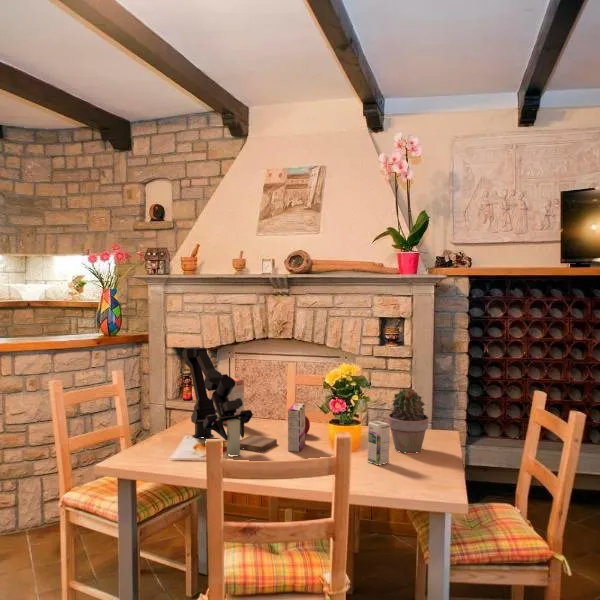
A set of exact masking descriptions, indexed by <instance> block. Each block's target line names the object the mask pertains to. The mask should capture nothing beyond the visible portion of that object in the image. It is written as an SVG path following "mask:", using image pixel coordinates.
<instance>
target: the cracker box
mask: <svg viewBox="0 0 600 600" xmlns="http://www.w3.org/2000/svg"><path fill="white" fill-rule="evenodd" d="M230 377H231V376H230ZM231 378H233V379H234V380H235V386H234V388H233V390H232V392H231V394H230V395H229V396H228V398H229V401H233V400H235V399H237V398H241V400H242V402H243V406H241V407H239V409H236V411H237V412H236V413H234V414H235V415H239V414H240V412H241V411H243V410H245V380H244V379H242V378H238V377H231ZM214 407H215V409H216V406H215V405H214ZM216 415H217V417H219V415H218V413H216ZM223 425H226V426H227V422H223Z"/></svg>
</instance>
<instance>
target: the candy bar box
mask: <svg viewBox="0 0 600 600" xmlns="http://www.w3.org/2000/svg"><path fill="white" fill-rule="evenodd" d="M305 416H306V403H301V402H300V403H299V402H298V403H297V402H294V403H292V405H291V406H290V407H289V408H288V409H287V441H288V442H287V449H288V452H293V453H300V452H301V450H303V448H304V447H305V445H306V435H305Z"/></svg>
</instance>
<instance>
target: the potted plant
mask: <svg viewBox="0 0 600 600" xmlns="http://www.w3.org/2000/svg"><path fill="white" fill-rule="evenodd" d="M398 391H399V392H398V393H394V395H393V396H394V399H393V400H392V401H391V404H390V405H388V407H390V406H393V407H391V408H390V410H392V411H391V412H390V413H389V414H388V415H387V422H388V423H387V424H390V433H391V437H392V441H393V445H394V450H395V449H396V450H397V451H400V452H406V453H416V452H419V451H420V452H421V451H422V447H423V443H424V440H425V435H426V432H427V431H426V430H428V428H429V418H430V417H429V416H428V415H427V414H425V408H424V405H425V406H427V407H428V406H431V405H430V404H426V403H425V402H423V400H422V398H423V396H421V395H419V394H418V393H417V392H416V391H415V389H412V388H409V389H406V388H403V389H402V390H398ZM431 407H432V406H431ZM396 450H395V451H396ZM397 451H396V452H397ZM400 452H399V453H400ZM420 452H419V453H420ZM416 454H417V453H416Z"/></svg>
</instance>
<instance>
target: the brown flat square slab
mask: <svg viewBox="0 0 600 600" xmlns="http://www.w3.org/2000/svg"><path fill="white" fill-rule="evenodd" d="M277 442H278V440H277V438H272V437H266V436H259V435H253V434H251V435H250V434H249V436H246V437H243V438H241V439H240V448H244V449H243V450H245V449H250V450H249V451H251V450H255V451H254V452H257V451H260V452H259V453H263V452H264V450H265V451H266V449H267V450H268V449H270V448H272V447H274V446H276V445H278V443H277ZM275 444H276V445H275ZM262 451H263V452H262Z"/></svg>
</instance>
